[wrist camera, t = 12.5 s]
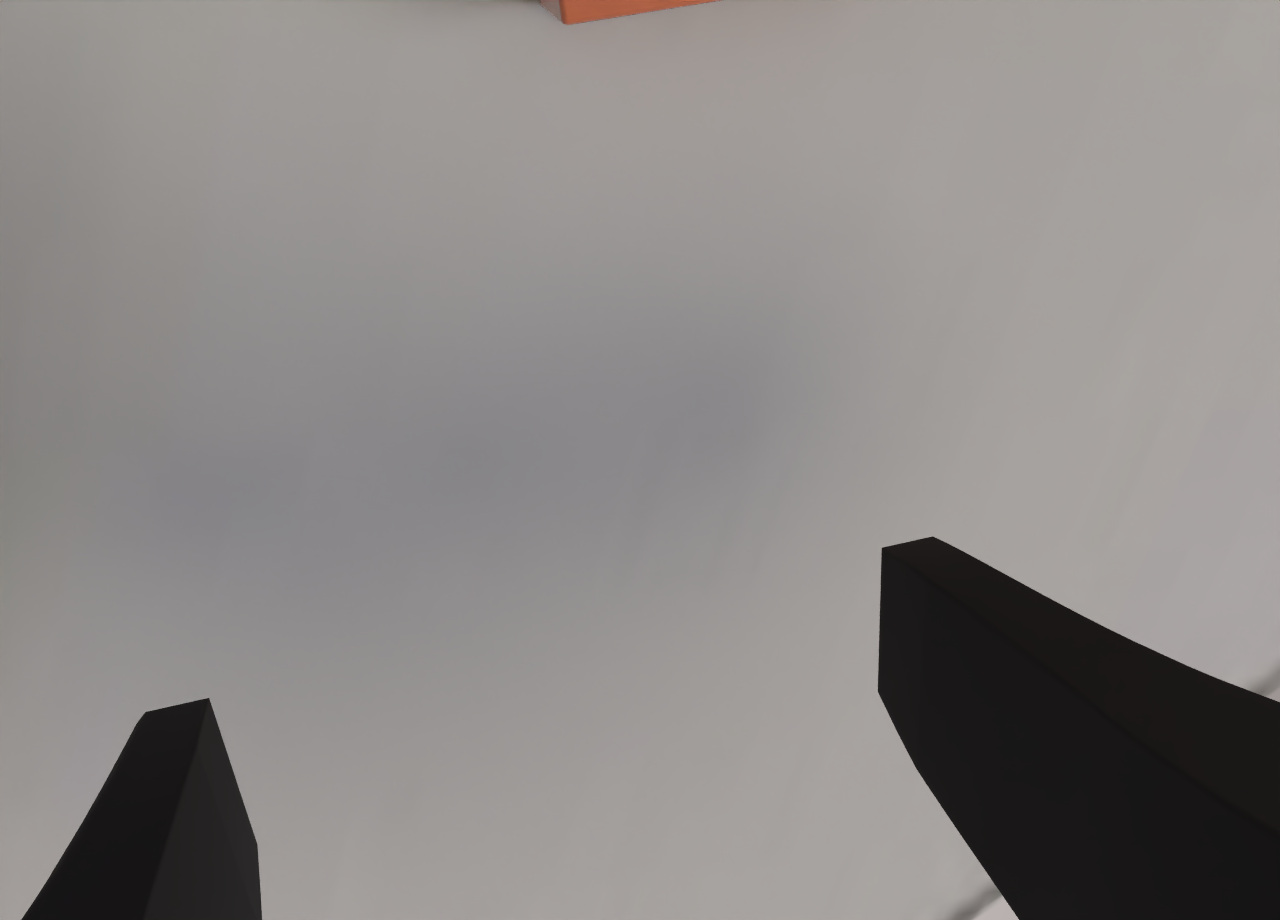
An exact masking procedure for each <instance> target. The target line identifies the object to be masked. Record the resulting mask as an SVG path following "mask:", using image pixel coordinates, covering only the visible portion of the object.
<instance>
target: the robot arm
mask: <svg viewBox="0 0 1280 920" xmlns="http://www.w3.org/2000/svg"><path fill="white" fill-rule="evenodd" d="M878 693H879V695H880V697H881V699H882V701H883V703H884V705H885V707H886V709H887V711H888V713H889V716H890V718H891V720H892V722H893V724H894V726H895V728H896V730H897V732H898V734H899V736H900V738H901V740H902V742H903V744H904V746H905V748H906V750H907V751H908V753H909V755H910V757H911V759H912V761H913V763H914V765H915V767H916V769H917V770H918V772H919V773H920V775H921V776H922V778H923V779H924V781H925V782H926V784H927V785H928V787H929V788H930V790H931V791H932V793H933V794H934V796H935V797H936V799H937V800H938V802H939V803H940V805H941V806H942V808H943V809H944V811H945V812H946V814H947V815H948V817H949V818H950V820H951V821H952V822H953V824H954V825H955V827H956V828H957V830H958V831H959V833H960V834H961V836H962V837H963V839H964V840H965V841H966V843H967V844H968V846H969V847H970V849H971V850H972V852H973V853H974V855H975V856H976V857H977V859H978V860H979V862H980V863H981V865H982V866H983V868H984V869H985V871H986V872H987V873H988V875H989V876H990V878H991V879H992V881H993V882H994V884H995V885H996V887H997V888H998V889H999V891H1000V892H1001V894H1002V895H1003V897H1004V898H1005V900H1006V901H1007V903H1008V904H1009V905H1010V907H1011V908H1012V910H1013V911H1014V912H1015V914H1016V916H1017V917H1018V919H1019V920H1280V702H1277V701H1275V700H1272V699H1270V698H1267V697H1264V696H1262V695H1259V694H1256V693H1254V692H1251V691H1248V690H1246V689H1243V688H1240V687H1238V686H1235V685H1233V684H1230V683H1227V682H1225V681H1222V680H1220V679H1217V678H1215V677H1212V676H1210V675H1208V674H1205V673H1203V672H1200V671H1198V670H1196V669H1193V668H1191V667H1189V666H1186V665H1184V664H1182V663H1180V662H1178V661H1175V660H1173V659H1171V658H1169V657H1167V656H1164V655H1162V654H1160V653H1158V652H1156V651H1154V650H1151V649H1149V648H1147V647H1145V646H1143V645H1140V644H1138V643H1136V642H1134V641H1132V640H1130V639H1128V638H1126V637H1124V636H1122V635H1120V634H1118V633H1116V632H1114V631H1111V630H1109V629H1107V628H1105V627H1103V626H1101V625H1099V624H1097V623H1095V622H1094V621H1092V620H1090V619H1088V618H1086V617H1084V616H1082V615H1080V614H1078V613H1076V612H1074V611H1072V610H1070V609H1068V608H1067V607H1065V606H1063V605H1061V604H1059V603H1057V602H1055V601H1053V600H1051V599H1050V598H1048V597H1046V596H1044V595H1042V594H1040V593H1038V592H1036V591H1035V590H1033V589H1031V588H1029V587H1027V586H1025V585H1024V584H1022V583H1020V582H1018V581H1016V580H1014V579H1013V578H1011V577H1009V576H1007V575H1005V574H1003V573H1002V572H1000V571H998V570H996V569H994V568H993V567H991V566H989V565H987V564H985V563H983V562H981V561H980V560H978V559H976V558H974V557H972V556H970V555H969V554H967V553H965V552H963V551H961V550H959V549H957V548H955V547H953V546H951V545H949V544H947V543H945V542H943V541H941V540H939V539H937V538H935V537H929V538H924V539H920V540H915V541H911V542H906V543H902V544H897V545H893V546H888V547H884V548H882V561H881V597H880V634H879V670H878ZM22 920H262V911H261V893H260V878H259V863H258V849H257V842H256V839H255V836H254V833H253V830H252V827H251V824H250V821H249V818H248V815H247V812H246V809H245V806H244V803H243V800H242V797H241V794H240V791H239V788H238V785H237V782H236V779H235V776H234V772H233V769H232V766H231V763H230V760H229V757H228V754H227V751H226V748H225V745H224V742H223V739H222V736H221V733H220V730H219V727H218V724H217V721H216V718H215V715H214V712H213V709H212V706H211V703H210V700H209V698H207V699H202V700H198V701H193V702H189V703H184V704H180V705H175V706H171V707H166V708H162V709H157V710H153V711H148V712H145V714H144V715H143V716H142V717H141V719H140V720H139V721H138V723H137V724H136V726H135V728H134V730H133V732H132V734H131V735H130V737H129V739H128V741H127V743H126V745H125V747H124V748H123V750H122V752H121V754H120V756H119V758H118V760H117V762H116V763H115V765H114V767H113V769H112V771H111V773H110V774H109V776H108V778H107V780H106V782H105V784H104V785H103V787H102V789H101V791H100V792H99V794H98V796H97V798H96V800H95V801H94V803H93V805H92V807H91V808H90V810H89V812H88V814H87V815H86V817H85V819H84V821H83V822H82V824H81V826H80V827H79V829H78V831H77V832H76V834H75V836H74V837H73V839H72V841H71V842H70V844H69V846H68V847H67V849H66V850H65V852H64V854H63V855H62V857H61V859H60V860H59V862H58V864H57V865H56V867H55V869H54V870H53V872H52V874H51V875H50V877H49V879H48V880H47V882H46V883H45V885H44V887H43V888H42V890H41V891H40V893H39V894H38V896H37V897H36V899H35V900H34V902H33V903H32V905H31V906H30V908H29V909H28V911H27V912H26V914H25V915H24V917H23V918H22Z"/></svg>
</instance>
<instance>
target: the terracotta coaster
mask: <svg viewBox="0 0 1280 920" xmlns="http://www.w3.org/2000/svg"><path fill="white" fill-rule="evenodd" d="M715 1H722V0H539V2H540V4H541V6H542V7H543V8H545V9H546V10H547V11H548V12H550V13H551V14H552V15H553V16H555V17H556V18H557V19H558V20H559V21H561V22H562V23H563V24H566V25H572V24H578V23H584V22H590V21H597V20H603V19H609V18H615V17H622V16H628V15H634V14H640V13H647V12H653V11H659V10H665V9H672V8H678V7H684V6H690V5H697V4H703V3H709V2H715Z"/></svg>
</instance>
